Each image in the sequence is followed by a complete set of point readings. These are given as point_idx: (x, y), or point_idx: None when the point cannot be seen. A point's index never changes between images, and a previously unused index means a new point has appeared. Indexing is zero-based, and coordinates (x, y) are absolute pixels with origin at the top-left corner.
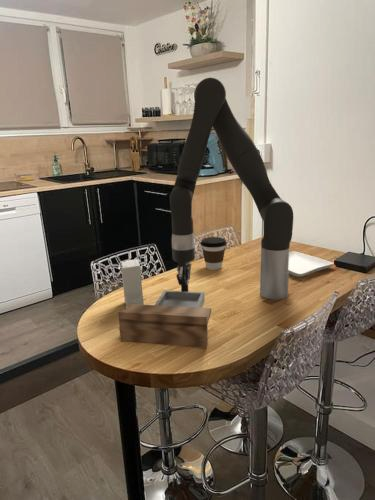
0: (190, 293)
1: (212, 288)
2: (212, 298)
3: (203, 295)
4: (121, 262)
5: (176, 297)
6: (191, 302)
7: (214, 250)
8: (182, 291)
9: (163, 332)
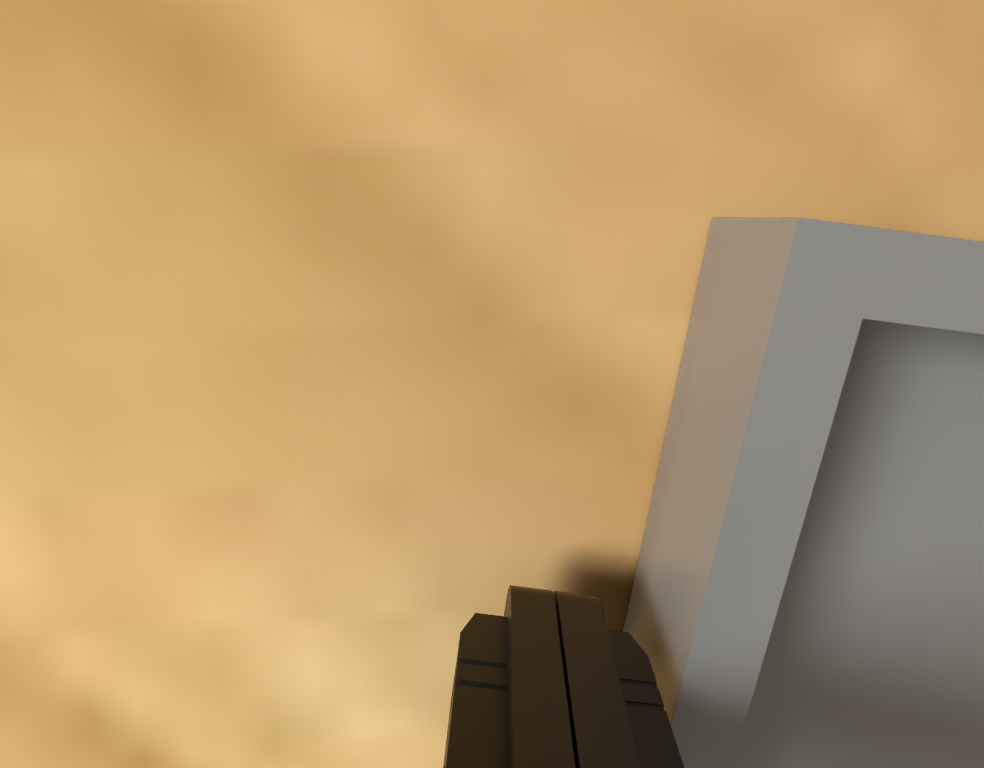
0: (772, 578)
1: (16, 41)
2: (603, 29)
3: (952, 238)
4: None
5: None
6: (911, 486)
7: None
8: None
9: None
